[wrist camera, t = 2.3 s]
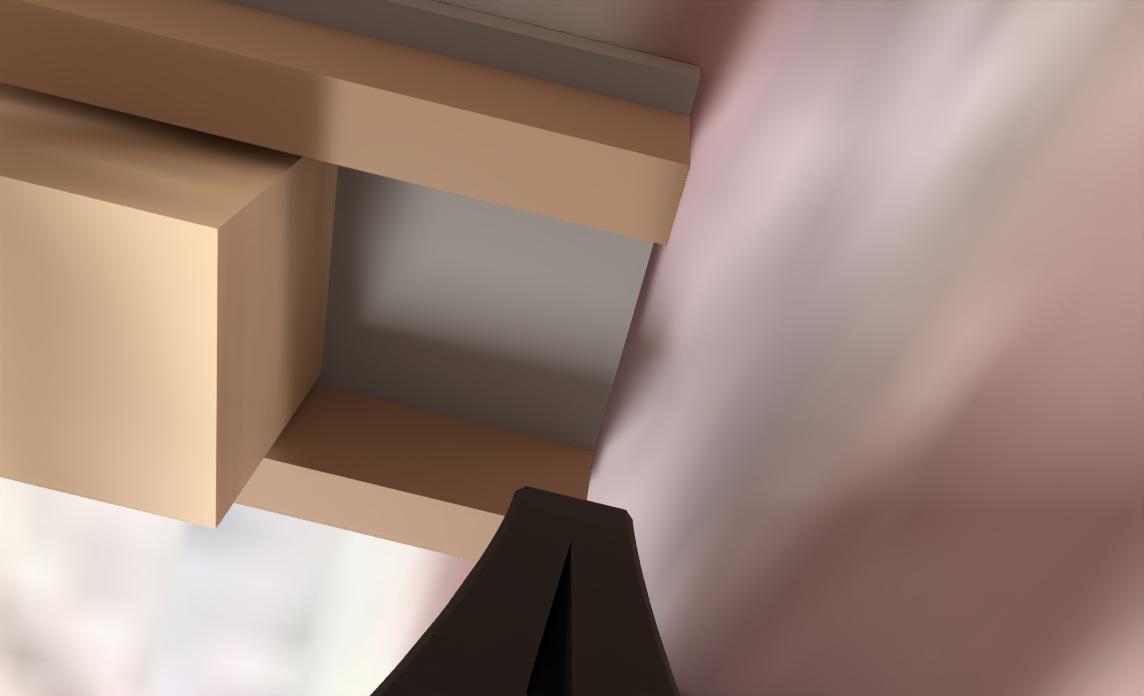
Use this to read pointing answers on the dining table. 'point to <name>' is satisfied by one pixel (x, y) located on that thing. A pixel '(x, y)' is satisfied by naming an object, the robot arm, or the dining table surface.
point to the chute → (418, 227)
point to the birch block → (152, 303)
